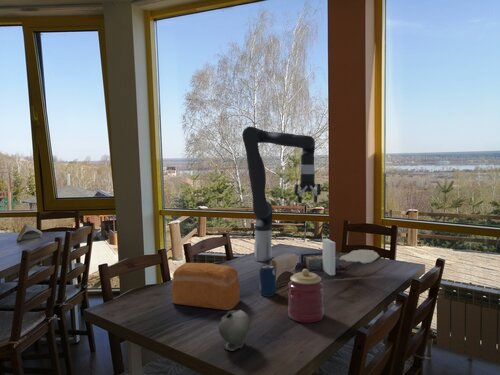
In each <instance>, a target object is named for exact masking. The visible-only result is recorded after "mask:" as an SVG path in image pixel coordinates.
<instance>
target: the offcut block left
mask: <svg viewBox="0 0 500 375" xmlns="http://www.w3.org/2000/svg"><path fill="white" fill-rule="evenodd" d="M315 259H322V258H320V257H319V256H312V257H306V267H307V268H308V269H309V260H315ZM306 267H305V268H306ZM307 268H306V269H307Z"/></svg>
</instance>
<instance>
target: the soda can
mask: <svg viewBox="0 0 500 375" xmlns="http://www.w3.org/2000/svg"><path fill="white" fill-rule="evenodd" d="M258 271H259V274H258V275H259V282H258V283H259V293H260V294H261V296H264V297H272V296H275V294H276V292H277V289H276V288H277V283H276V281H277V280H276V278H277V276H276V268H275V266H274V265H273V264H263V265H260V268H259V270H258Z"/></svg>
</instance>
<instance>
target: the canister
mask: <svg viewBox="0 0 500 375" xmlns="http://www.w3.org/2000/svg"><path fill="white" fill-rule="evenodd" d="M289 280H290V281H289V282H288V283H287V286H288V289H289V290H288V292H287V295H288V307H287V313H288V318H290V319H291V320H293V321H295V322H299V323H308V324H309V323H315V322H316V323H317V322H319V321H321V320H322V319H323V317H324V313H325V312H324V296H325V294H324V292H323V288H324V287H325V286H324V283H323V282H321V281H322V277H321V276H319V275H318V274H317V273H314V272H310V270H308V269H307V268H303V269H302V271H299V272H296V273H294V274H293V275H291V276H290V278H289Z"/></svg>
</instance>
